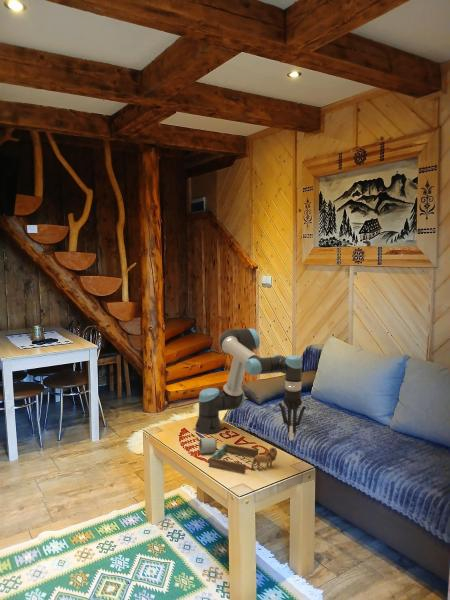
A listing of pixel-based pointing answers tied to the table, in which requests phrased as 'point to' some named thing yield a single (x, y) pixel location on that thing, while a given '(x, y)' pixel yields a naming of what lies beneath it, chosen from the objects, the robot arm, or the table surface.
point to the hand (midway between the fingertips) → (291, 439)
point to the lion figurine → (265, 458)
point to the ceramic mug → (207, 445)
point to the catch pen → (227, 465)
